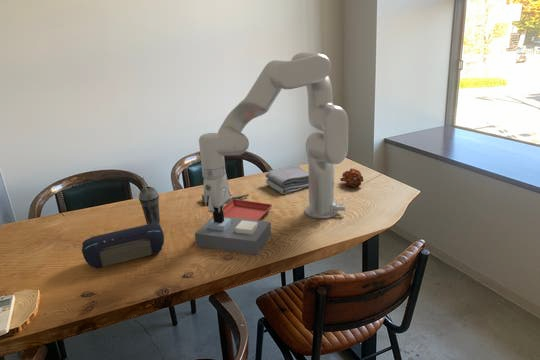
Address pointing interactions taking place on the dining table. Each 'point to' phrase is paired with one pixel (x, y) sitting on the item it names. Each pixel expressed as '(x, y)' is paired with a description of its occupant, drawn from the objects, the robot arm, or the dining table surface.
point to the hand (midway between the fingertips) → (219, 221)
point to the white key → (246, 227)
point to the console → (234, 237)
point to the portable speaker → (123, 245)
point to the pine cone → (352, 177)
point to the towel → (288, 179)
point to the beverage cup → (150, 204)
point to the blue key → (220, 225)
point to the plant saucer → (245, 209)
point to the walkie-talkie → (228, 199)
